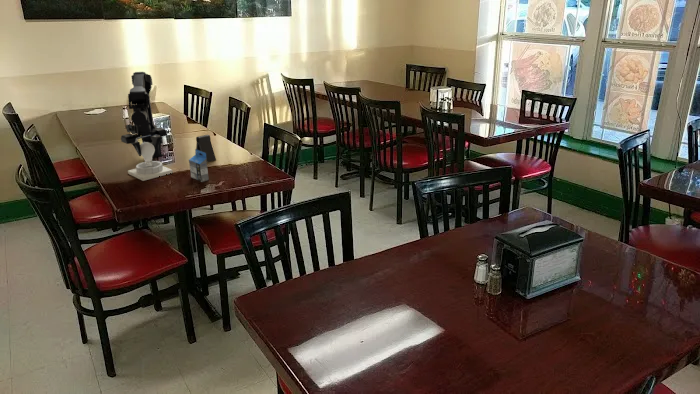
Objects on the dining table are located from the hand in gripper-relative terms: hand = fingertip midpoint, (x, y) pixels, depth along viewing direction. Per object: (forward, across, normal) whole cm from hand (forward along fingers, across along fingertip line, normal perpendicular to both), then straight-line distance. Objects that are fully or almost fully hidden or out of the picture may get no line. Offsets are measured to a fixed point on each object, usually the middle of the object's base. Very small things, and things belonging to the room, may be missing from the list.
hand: (147, 154), depth 227 cm
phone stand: (+9, -28, +1) cm, 29 cm away
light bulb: (+6, 0, 0) cm, 6 cm away
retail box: (+9, -11, +23) cm, 27 cm away
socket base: (+9, 0, 0) cm, 9 cm away
